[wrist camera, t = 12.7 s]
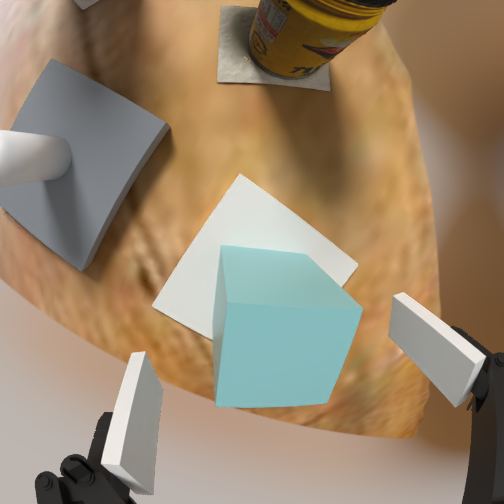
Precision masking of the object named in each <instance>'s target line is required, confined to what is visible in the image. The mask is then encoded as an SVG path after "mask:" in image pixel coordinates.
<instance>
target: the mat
mask: <svg viewBox="0 0 504 504" xmlns="http://www.w3.org/2000/svg"><path fill="white" fill-rule="evenodd" d="M221 245H229V246H238V247H247V248H257V249H266V250H275V251H285V252H294V253H303V254H307V255H308V256H309V257H310V258H311V259H312V260H313V261H314V262H315V263H316V264H317V265H318V266H319V267H320V268H322V269H323V270H324V271H325V272H326V273H327V274H328V275H329V276H330V277H331V278H332V279H333V280H334V281H335V282H336V283H337V284H338V285H339V286H340V287H341V288H342V286H343V285H344V284H345V283H346V281H347V280H348V279H349V277H350V276H351V275H352V273H353V272H354V271H355V269H356V268H357V267H358V265H359V264H357V263H356V262H355V261H354V260H353V259H351V258H350V257H349V256H348V255H347V254H345V253H344V252H343V251H342V250H341V249H339V248H338V247H337V246H336V245H334V244H333V243H332V242H331V241H329V240H328V239H327V238H326V237H324V236H323V235H322V234H321V233H319V232H318V231H317V230H315V229H314V228H313V227H312V226H310V225H309V224H308V223H307V222H305V221H304V220H303V219H301V218H300V217H299V216H297V215H296V214H295V213H293V212H292V211H291V210H290V209H288V208H287V207H286V206H284V205H283V204H282V203H280V202H279V201H278V200H276V199H275V198H273V197H272V196H271V195H269V194H268V193H267V192H265V191H264V190H263V189H261V188H260V187H258V186H257V185H256V184H254V183H253V182H252V181H250V180H249V179H247V178H246V177H244V176H243V175H242V174H239V175H238V177H237V178H236V179H235V181H234V182H233V184H232V185H231V186H230V188H229V189H228V191H227V192H226V193H225V195H224V196H223V198H222V199H221V200H220V202H219V203H218V205H217V206H216V208H215V209H214V210H213V212H212V213H211V215H210V216H209V218H208V219H207V221H206V222H205V224H204V225H203V227H202V228H201V229H200V231H199V232H198V234H197V235H196V237H195V238H194V240H193V241H192V243H191V244H190V246H189V247H188V249H187V250H186V252H185V254H184V255H183V257H182V258H181V260H180V261H179V263H178V264H177V266H176V267H175V269H174V271H173V272H172V274H171V275H170V277H169V278H168V280H167V282H166V283H165V285H164V286H163V288H162V290H161V291H160V293H159V295H158V296H157V298H156V299H155V301H154V303H153V305H152V307H154V308H155V309H157V310H159V311H160V312H162V313H164V314H166V315H167V316H169V317H171V318H173V319H174V320H176V321H178V322H180V323H181V324H183V325H185V326H187V327H189V328H190V329H192V330H194V331H196V332H198V333H200V334H202V335H203V336H205V337H207V338H209V339H211V340H213V332H212V321H213V310H214V301H215V291H216V282H217V273H218V264H219V256H220V248H221Z"/></svg>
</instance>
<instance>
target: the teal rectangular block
mask: <svg viewBox="0 0 504 504" xmlns="http://www.w3.org/2000/svg"><path fill="white" fill-rule="evenodd" d="M362 311H363V308H362V307H361V306H360V305H359V304H358V303H357V302H356V301H355V300H354V299H353V298H352V297H351V296H350V295H349V294H348V293H347V292H346V291H345V290H344V289H342V288H341V287H340V286H339V285H338V284H337V283H336V282H335V281H334V280H333V279H332V278H331V277H330V276H329V275H328V274H327V273H326V272H325V271H324V270H323V269H322V268H320V267H319V266H318V265H317V264H316V263H315V262H314V261H313V260H312V259H311V258H310V257H309V256H308V255H307V254H303V253H294V252H285V251H275V250H266V249H257V248H247V247H238V246H229V245H221V248H220V256H219V264H218V273H217V282H216V291H215V301H214V310H213V321H212V332H213V365H214V389H215V406H216V407H244V408H254V407H287V406H302V405H314V404H324V403H327V401H328V399H329V397H330V395H331V393H332V390H333V388H334V386H335V383H336V381H337V379H338V376H339V374H340V371H341V369H342V367H343V364H344V362H345V359H346V356H347V354H348V351H349V349H350V346H351V343H352V340H353V338H354V335H355V332H356V329H357V326H358V323H359V320H360V317H361V314H362Z"/></svg>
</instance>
